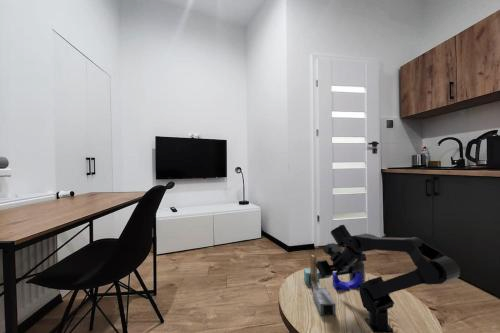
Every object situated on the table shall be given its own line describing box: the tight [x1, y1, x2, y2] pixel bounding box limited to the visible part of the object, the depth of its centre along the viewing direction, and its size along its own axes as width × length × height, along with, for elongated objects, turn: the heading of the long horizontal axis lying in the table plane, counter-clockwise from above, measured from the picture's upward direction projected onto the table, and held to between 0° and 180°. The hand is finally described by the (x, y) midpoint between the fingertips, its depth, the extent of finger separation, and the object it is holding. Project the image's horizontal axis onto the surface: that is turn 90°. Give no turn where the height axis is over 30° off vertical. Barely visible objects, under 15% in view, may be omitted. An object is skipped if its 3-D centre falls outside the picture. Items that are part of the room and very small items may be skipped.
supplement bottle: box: [348, 260, 366, 282], centre depth 114 cm, size 7×7×12 cm
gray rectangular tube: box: [312, 287, 337, 317], centre depth 94 cm, size 12×5×4 cm, turn 178°
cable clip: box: [331, 271, 362, 291], centre depth 108 cm, size 12×4×6 cm, turn 87°
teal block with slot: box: [303, 268, 320, 285], centre depth 115 cm, size 5×6×5 cm
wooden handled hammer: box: [309, 253, 322, 289], centre depth 106 cm, size 18×3×13 cm, turn 179°
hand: (327, 276), depth 102 cm, fingers open, 9 cm apart
